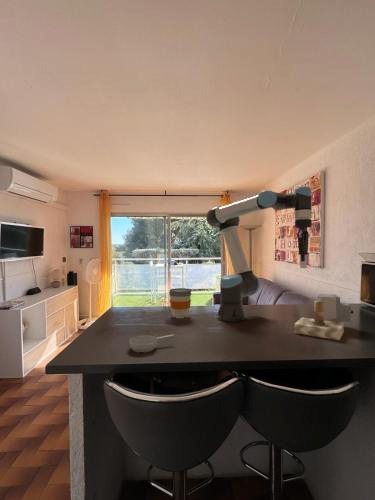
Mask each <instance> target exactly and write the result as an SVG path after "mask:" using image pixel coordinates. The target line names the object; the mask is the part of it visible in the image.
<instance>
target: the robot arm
mask: <svg viewBox="0 0 375 500" xmlns="http://www.w3.org/2000/svg"><path fill="white" fill-rule="evenodd" d="M312 197H313V195H312V188H311V187H310V186H306V185H305V186H298V187H295V188H294V191H293V192H291V193H281V192H275V191H272V190H262V191H261V192H260V193H259V194H257V195H256V196H252V197H250V198H245V199H243V200H239V201H236V202H233V203H230V204H227V205H224V206H222V205H218V206H216V207H212V208H211V209H209V210H208V211H207V213H206V216H205V217H206V221H207V224H208V225H209V226H210V227H212V228H216V229H218V230H219V233H220V234H221V235H223V237H224V241H225V245H226V248H227V252H228V256H229V258H230V262H231V265H232V268H233V271H234V273H233V274H232V273H231V274H226V275H223V276H222V277H221V278H220V283H219V287H220V288H219V289H220V291H219V292H220V293H219V294H220V305H219V309H218V310H217V311H218V312H217V320H219V321H223V322H231V323H234V322H235V323H236V322H237V323H238V322H243V321H245V320H246V318H247V317H246V312H245V309H244V306H243V298H245V297H250V296H253V295H256V294H257V293H258V292H259V290H260V288H261V281H260V279H259V277H258V276H256V274H255V275H254V271H253V269H250V267H249V264H248V262H247V261H248V260H247V258H246V254H245V252H244V249H243V245H242V241H241V239H240V236H239V233H238V230H239V228H240V227H239V224H240V217H241V216H244V215H248V214H252V213H255V212H258V211H262V210H266V209H270V208H272V209H273V210H274V211H282V210H288V209H294V219H295V220H294V227H295V228H296V229H298V232H297V234H296V235H297V244H298V245H297V246H298V247H297V248H298V255H299V268H300V269H307V268H308V262H307V261H308V260H307V259H308V257H307V256H308V255H309V238H310V233H309V231H308V228H311V227H312V225H313V223H312V214H314V213H313V211H312Z"/></svg>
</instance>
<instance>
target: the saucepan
mask: <svg viewBox="0 0 375 500" xmlns="http://www.w3.org/2000/svg"><path fill="white" fill-rule="evenodd" d="M174 336H175V334H174V333H173V334H167V335H162V336H158V337H156V336H154V335H138V336H134V337H132V338H130V339H129V346H130V349H131V350H132V351H133V352H135V353H139V352H144V353H149V352H151V351H154V350H155V348H156V346H157V345H158V340H163V339H166V338H171V337H174Z"/></svg>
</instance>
